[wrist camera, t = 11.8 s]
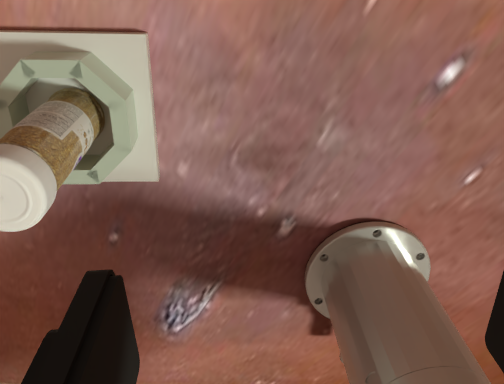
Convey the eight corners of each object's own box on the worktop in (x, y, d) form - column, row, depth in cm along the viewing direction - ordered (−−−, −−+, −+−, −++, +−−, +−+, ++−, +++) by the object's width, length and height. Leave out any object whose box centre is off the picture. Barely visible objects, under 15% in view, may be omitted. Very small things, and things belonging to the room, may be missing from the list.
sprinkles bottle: (97, 149, 36) (34, 246, 24) (40, 128, 34) (-56, 218, 23) (114, 100, 34) (54, 178, 22) (54, 75, 33) (-43, 143, 21)
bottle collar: (159, 176, 38) (153, 198, 35) (19, 176, 37) (-2, 199, 34) (147, 32, 32) (138, 41, 29) (-19, 29, 32) (-49, 38, 28)
